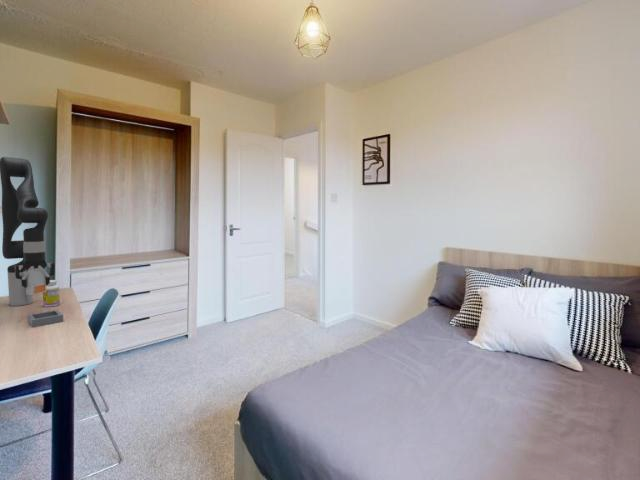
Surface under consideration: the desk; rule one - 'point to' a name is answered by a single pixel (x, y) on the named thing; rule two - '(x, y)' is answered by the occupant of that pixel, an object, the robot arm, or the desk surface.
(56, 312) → the frame
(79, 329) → the desk surface
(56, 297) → the supplement bottle
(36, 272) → the skincare box
